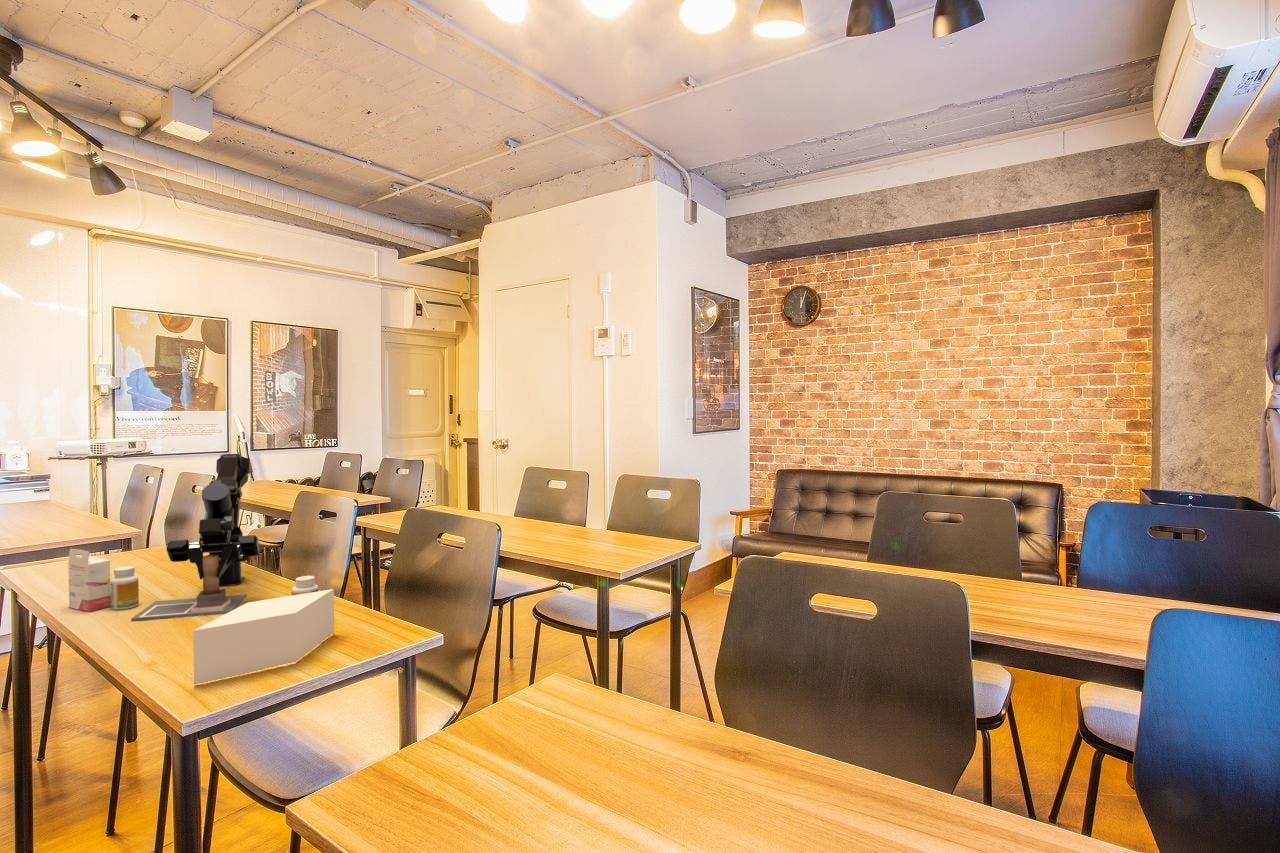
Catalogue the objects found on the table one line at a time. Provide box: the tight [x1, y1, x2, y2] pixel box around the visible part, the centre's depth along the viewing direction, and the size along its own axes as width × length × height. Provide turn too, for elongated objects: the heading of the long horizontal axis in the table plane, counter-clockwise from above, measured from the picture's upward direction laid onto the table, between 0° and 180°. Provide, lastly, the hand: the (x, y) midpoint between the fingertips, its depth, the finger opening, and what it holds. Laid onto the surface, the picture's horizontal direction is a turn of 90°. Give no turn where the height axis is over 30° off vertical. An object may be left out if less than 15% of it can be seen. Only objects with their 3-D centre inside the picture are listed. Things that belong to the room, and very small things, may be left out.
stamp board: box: [130, 593, 247, 622], centre depth 156 cm, size 14×20×2 cm
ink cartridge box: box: [67, 548, 111, 613], centre depth 156 cm, size 9×5×15 cm, turn 68°
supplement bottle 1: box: [110, 565, 140, 611], centre depth 157 cm, size 5×5×10 cm
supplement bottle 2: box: [291, 575, 320, 596], centre depth 147 cm, size 6×6×10 cm
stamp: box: [196, 554, 227, 607], centre depth 154 cm, size 5×5×12 cm
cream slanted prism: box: [192, 588, 335, 686], centre depth 126 cm, size 14×29×10 cm, turn 155°
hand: (209, 577), depth 153 cm, fingers closed on stamp, 3 cm apart
